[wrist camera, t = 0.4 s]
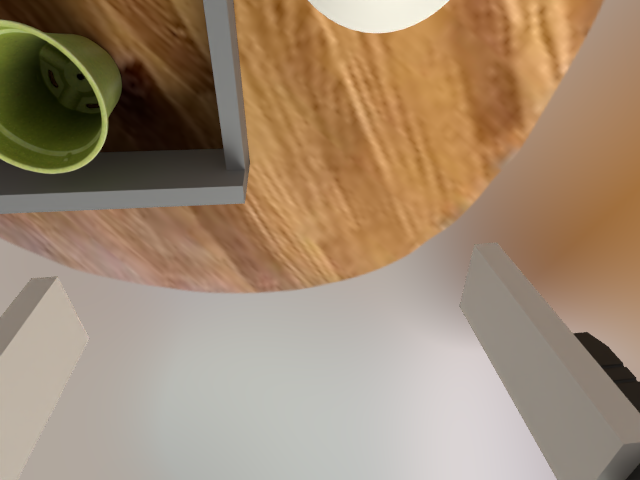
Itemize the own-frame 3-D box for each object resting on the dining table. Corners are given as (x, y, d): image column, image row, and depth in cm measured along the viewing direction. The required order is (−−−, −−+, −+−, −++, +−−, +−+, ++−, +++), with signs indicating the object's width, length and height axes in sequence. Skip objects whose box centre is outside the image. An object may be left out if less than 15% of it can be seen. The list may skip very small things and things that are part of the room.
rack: (-203, -130, 24) (-383, -169, 17) (221, -119, 26) (203, -150, 20) (-37, 172, 35) (-109, 218, 29) (249, 162, 37) (244, 203, 31)
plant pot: (53, 140, 34) (-4, 183, 27) (-11, 18, 29) (-103, 32, 22) (159, 123, 35) (129, 162, 27) (114, -1, 29) (63, 7, 22)
